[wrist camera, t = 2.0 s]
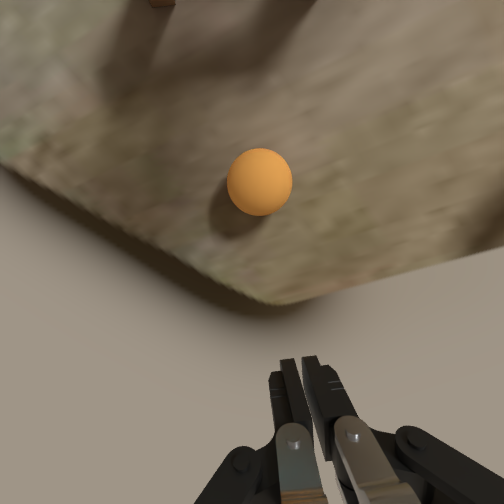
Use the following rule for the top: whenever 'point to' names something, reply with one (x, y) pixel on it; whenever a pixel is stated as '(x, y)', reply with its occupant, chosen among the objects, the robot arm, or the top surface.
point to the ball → (259, 182)
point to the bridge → (161, 3)
